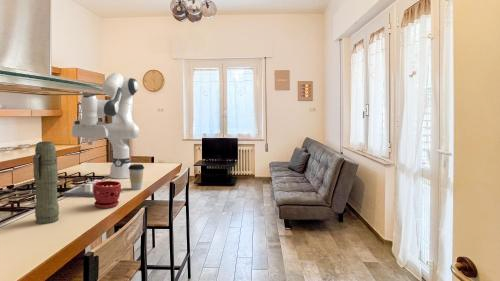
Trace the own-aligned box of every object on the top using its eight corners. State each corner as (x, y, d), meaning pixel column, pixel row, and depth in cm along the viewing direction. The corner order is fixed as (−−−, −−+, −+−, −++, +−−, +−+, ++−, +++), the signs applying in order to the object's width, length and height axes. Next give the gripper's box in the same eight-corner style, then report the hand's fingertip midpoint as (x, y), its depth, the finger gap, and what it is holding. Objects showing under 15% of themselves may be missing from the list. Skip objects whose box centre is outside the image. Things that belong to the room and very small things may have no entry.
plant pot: (93, 210, 164) (92, 186, 163) (93, 203, 176) (93, 181, 175) (121, 208, 169) (121, 185, 168) (120, 201, 181) (120, 179, 180)
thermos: (28, 224, 142) (25, 143, 139) (46, 216, 154) (43, 140, 151) (48, 225, 142) (46, 143, 139) (64, 216, 154) (63, 141, 150)
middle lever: (91, 189, 197) (91, 181, 197) (96, 189, 197) (96, 181, 197) (89, 190, 195) (89, 182, 194) (94, 190, 195) (94, 182, 194)
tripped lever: (86, 191, 192) (86, 183, 191) (92, 191, 192) (92, 183, 191) (84, 192, 189) (84, 184, 189) (90, 192, 189) (90, 184, 189)
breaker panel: (77, 189, 204) (77, 186, 204) (107, 190, 204) (107, 186, 204) (63, 196, 188) (63, 192, 188) (95, 197, 188) (95, 193, 188)
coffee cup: (129, 191, 203) (129, 166, 202) (127, 187, 212) (127, 164, 210) (145, 189, 208) (145, 166, 206) (142, 186, 216) (142, 163, 215)
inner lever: (95, 186, 203) (95, 179, 202) (100, 187, 203) (100, 179, 202) (93, 187, 200) (93, 180, 200) (98, 188, 200) (98, 180, 200)
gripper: (109, 121, 202) (110, 144, 204) (75, 120, 202) (76, 143, 204) (105, 122, 196) (106, 145, 198) (70, 121, 196) (71, 145, 197)
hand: (90, 144), depth 201 cm, fingers closed
